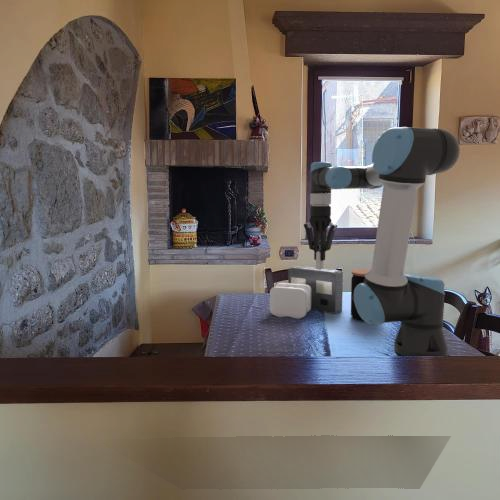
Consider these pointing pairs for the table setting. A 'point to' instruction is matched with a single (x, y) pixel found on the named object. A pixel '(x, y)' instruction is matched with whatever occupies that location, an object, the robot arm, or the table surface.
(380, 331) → the table surface
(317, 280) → the box
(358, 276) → the coffee jar
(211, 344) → the table surface
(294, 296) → the cable organizer
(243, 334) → the table surface
